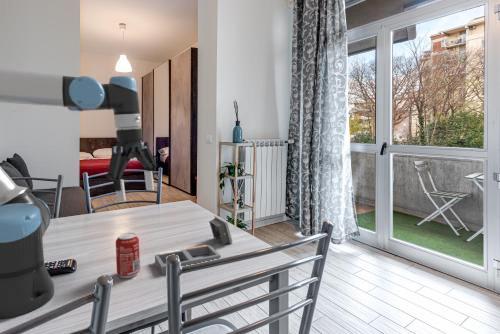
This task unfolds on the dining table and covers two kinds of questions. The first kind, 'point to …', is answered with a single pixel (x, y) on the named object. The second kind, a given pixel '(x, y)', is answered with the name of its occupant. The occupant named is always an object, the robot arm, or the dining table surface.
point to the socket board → (187, 256)
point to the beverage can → (127, 255)
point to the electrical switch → (220, 230)
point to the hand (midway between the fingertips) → (136, 195)
